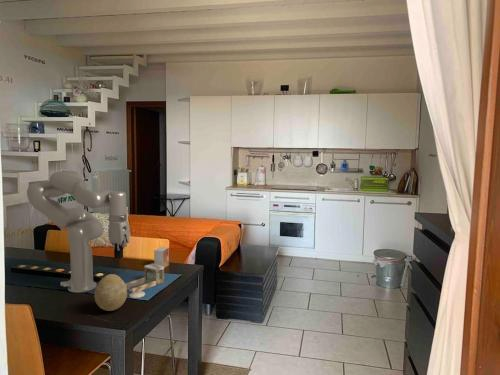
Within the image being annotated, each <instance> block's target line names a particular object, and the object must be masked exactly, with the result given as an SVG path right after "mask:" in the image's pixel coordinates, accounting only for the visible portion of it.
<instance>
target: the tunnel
mask: <svg viewBox="0 0 500 375" xmlns="http://www.w3.org/2000/svg"><path fill="white" fill-rule="evenodd" d="M143 267H144V276H143V277H142V278H138V279H134V280H132V281H130V282H126V283H125V285H128V284H132V283H136V282H139V281H143V280H147V272H148V270H150V272H151V271H155V281H153V282H150V283H147V284H144V285H141V286H138V287H136V288H133V289H132V291H131V292H135V291H144V290H147V289H149V288H153V287H154V286H158V285H161V284H163V283H165V268H164V267H163V266H159V265H156V264H154V262H152V263H149V264H146V265H144V266H143ZM158 271H159V272H161V279H158ZM160 283H161V284H160ZM157 284H158V285H157Z"/></svg>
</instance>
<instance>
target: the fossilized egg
mask: <svg viewBox="0 0 500 375" xmlns="http://www.w3.org/2000/svg"><path fill="white" fill-rule="evenodd" d="M125 284H126V283H125V281H124V280H123V279H122V278H121V277H120V276H119V275H117V274H114V273H110V274H107V275H105V276H104V277H102V278H101V279H100V280H99V282H97V286H96V287H95V288H94V297H93V298H94V302H95V303H96V305H97V306H98V307H99V309H102V311H107V312H112V311H116V310H118V309H119V308H121V307H122V306H123V305H124V303H125V302H126V300H127V297H128V290H127V287H126V285H125Z"/></svg>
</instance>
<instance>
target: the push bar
mask: <svg viewBox="0 0 500 375" xmlns="http://www.w3.org/2000/svg"><path fill="white" fill-rule="evenodd" d="M150 282H152V281H151V280H150V279H147V280H143V281H139V282H136V283H132V284H128V285H126V287H127V292H128V291H129V292H132V289H133V288H136V287H138V286H141V285H144V284H147V283H150Z"/></svg>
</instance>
